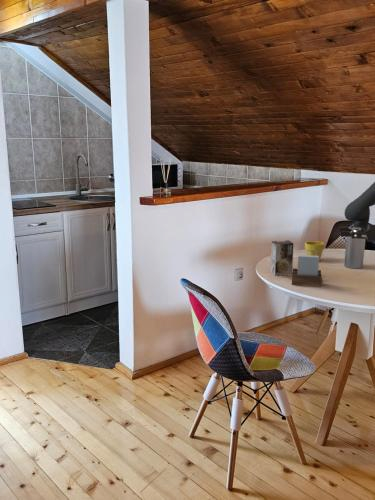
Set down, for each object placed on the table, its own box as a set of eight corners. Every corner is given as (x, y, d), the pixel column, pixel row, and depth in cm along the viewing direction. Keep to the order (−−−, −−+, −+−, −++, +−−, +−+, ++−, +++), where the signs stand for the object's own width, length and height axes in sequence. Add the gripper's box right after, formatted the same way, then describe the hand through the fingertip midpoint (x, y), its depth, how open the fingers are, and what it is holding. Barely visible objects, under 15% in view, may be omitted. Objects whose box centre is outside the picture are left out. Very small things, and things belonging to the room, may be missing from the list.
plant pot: (301, 258, 263) (302, 240, 261) (320, 258, 263) (321, 240, 261) (306, 262, 253) (308, 245, 251) (326, 262, 253) (327, 245, 251)
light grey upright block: (296, 279, 219) (298, 254, 216) (317, 281, 217) (318, 255, 214) (296, 281, 216) (298, 256, 213) (317, 283, 214) (318, 257, 211)
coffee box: (287, 271, 236) (289, 240, 233) (292, 275, 230) (294, 242, 226) (270, 272, 235) (271, 240, 231) (274, 276, 229) (276, 243, 225)
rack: (292, 277, 226) (292, 268, 225) (320, 279, 223) (320, 270, 222) (291, 284, 215) (292, 275, 214) (321, 286, 212) (321, 277, 211)
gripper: (377, 222, 210) (339, 220, 214) (382, 228, 197) (341, 226, 201) (376, 238, 212) (338, 236, 216) (380, 245, 199) (340, 243, 203)
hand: (339, 231), depth 208 cm, fingers open, 8 cm apart
